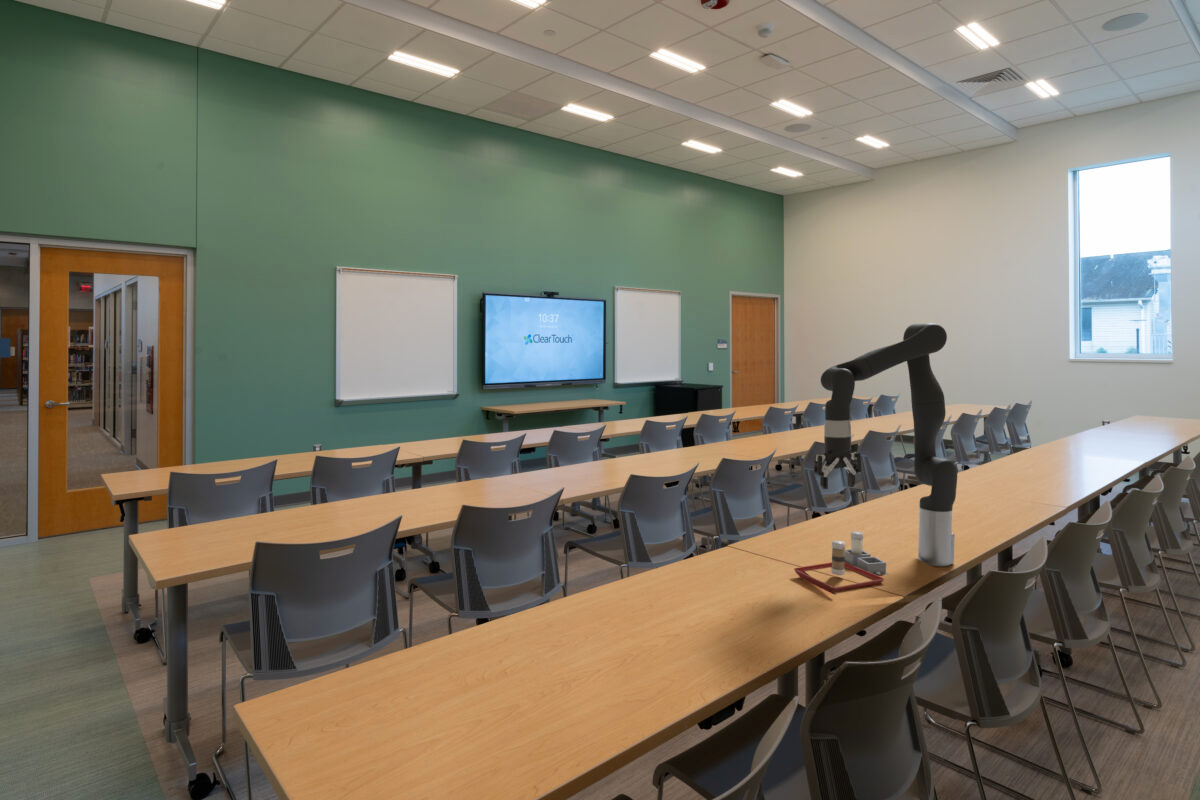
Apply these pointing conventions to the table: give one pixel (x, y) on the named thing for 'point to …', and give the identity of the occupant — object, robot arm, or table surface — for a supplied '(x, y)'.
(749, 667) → the table surface
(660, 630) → the table surface
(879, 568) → the block
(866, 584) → the plant saucer
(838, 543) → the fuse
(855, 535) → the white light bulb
